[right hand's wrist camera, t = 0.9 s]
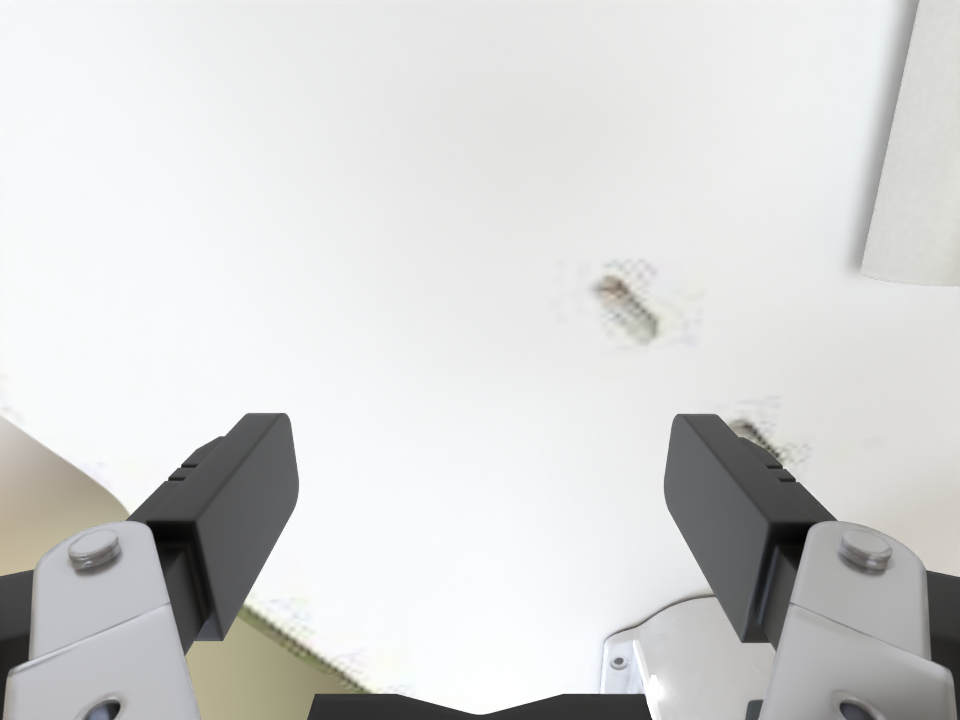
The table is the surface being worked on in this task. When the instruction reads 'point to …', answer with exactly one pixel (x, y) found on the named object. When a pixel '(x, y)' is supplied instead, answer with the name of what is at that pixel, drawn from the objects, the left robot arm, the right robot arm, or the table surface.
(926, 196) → the cylinder
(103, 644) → the right robot arm
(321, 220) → the table surface
